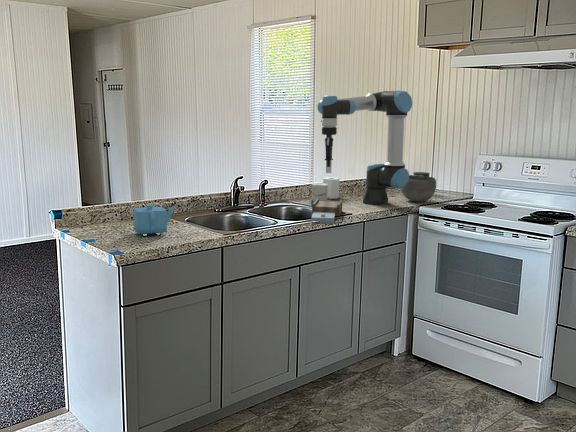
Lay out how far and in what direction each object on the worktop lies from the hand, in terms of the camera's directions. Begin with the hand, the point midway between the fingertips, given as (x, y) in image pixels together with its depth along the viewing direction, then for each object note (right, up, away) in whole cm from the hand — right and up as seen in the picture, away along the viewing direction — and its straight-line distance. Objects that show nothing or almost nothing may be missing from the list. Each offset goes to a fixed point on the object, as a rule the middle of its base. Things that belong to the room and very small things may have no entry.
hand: (328, 172), depth 291 cm
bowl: (+58, -14, +51) cm, 78 cm away
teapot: (-78, -30, -46) cm, 95 cm away
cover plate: (-3, -25, -10) cm, 27 cm away
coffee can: (+66, -8, +80) cm, 104 cm away
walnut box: (0, -21, +7) cm, 22 cm away
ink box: (-3, -16, +37) cm, 40 cm away
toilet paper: (+6, -11, +61) cm, 62 cm away
